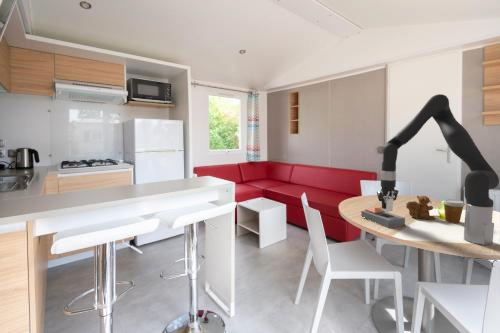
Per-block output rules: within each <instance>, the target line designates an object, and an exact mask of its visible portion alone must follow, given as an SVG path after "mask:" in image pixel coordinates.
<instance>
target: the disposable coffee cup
mask: <svg viewBox="0 0 500 333" xmlns="http://www.w3.org/2000/svg"><path fill="white" fill-rule="evenodd" d="M442 204H443V206H444V207H443V209H444V210H443V211H444V219H445V222H447V223H451V224H460V222H461V218H462V213H463V209H464V206H466V203H465V202H464V201H463V200H459V199H450V198H449V199H448V198H447V199H444V200H443V201H442Z"/></svg>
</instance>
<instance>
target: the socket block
mask: <svg viewBox="0 0 500 333" xmlns="http://www.w3.org/2000/svg"><path fill="white" fill-rule="evenodd" d="M360 216H362V217H365V218H367V219H369V220H368V221H370V220H371V221H370V222H372V221H374V222H373V223H375V222H376V224H377V223H378V225H380V224H381V225H380V226H383V227H385V228H388V229H389V228H395V227H400V226H405V225H406V217H403V216H400V215H398V214H394V213H391V212H386V211H385V212H383V213H376V214H375V213H372V212H369V211H366V210H365V209H364V210H361V214H360ZM362 217H361V218H362ZM365 218H364V219H365ZM367 219H366V220H367Z"/></svg>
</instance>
